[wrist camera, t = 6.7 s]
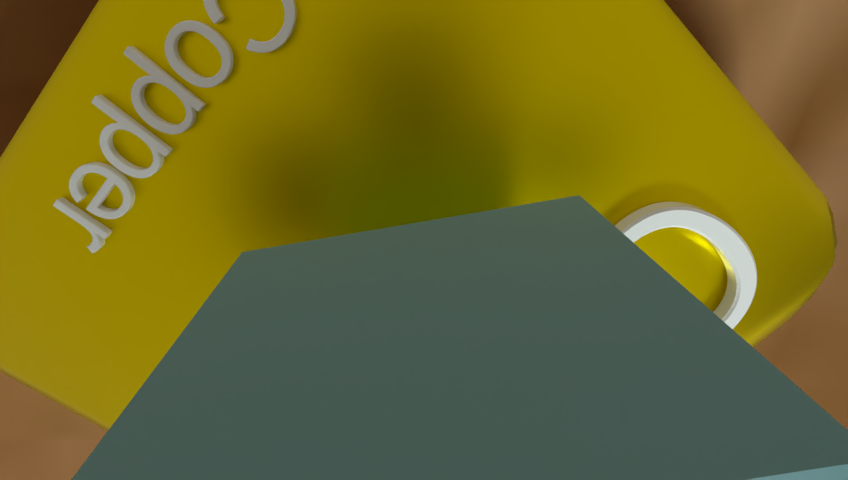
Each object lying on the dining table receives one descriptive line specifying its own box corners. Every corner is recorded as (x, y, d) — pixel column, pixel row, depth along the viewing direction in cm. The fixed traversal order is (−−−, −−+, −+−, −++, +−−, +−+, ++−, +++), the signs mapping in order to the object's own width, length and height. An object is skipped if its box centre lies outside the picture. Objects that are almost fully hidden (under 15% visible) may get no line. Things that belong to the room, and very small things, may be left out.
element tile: (362, -245, 11) (336, -437, 6) (755, 198, 15) (904, 266, 11) (28, 243, 15) (-134, 333, 10) (417, 491, 19) (422, 632, 14)
